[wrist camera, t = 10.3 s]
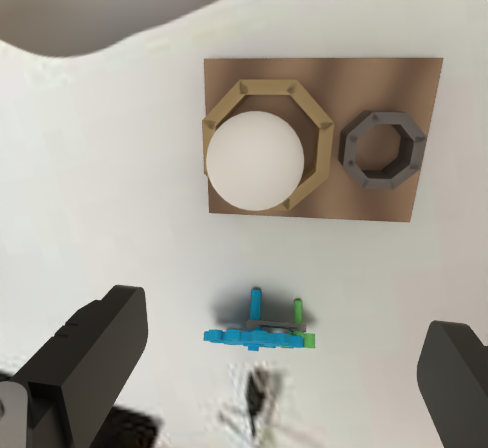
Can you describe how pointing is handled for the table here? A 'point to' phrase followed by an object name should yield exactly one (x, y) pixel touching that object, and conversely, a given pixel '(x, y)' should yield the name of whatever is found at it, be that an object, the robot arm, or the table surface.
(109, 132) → the table surface
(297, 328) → the gear
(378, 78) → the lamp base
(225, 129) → the lightbulb
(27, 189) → the table surface
